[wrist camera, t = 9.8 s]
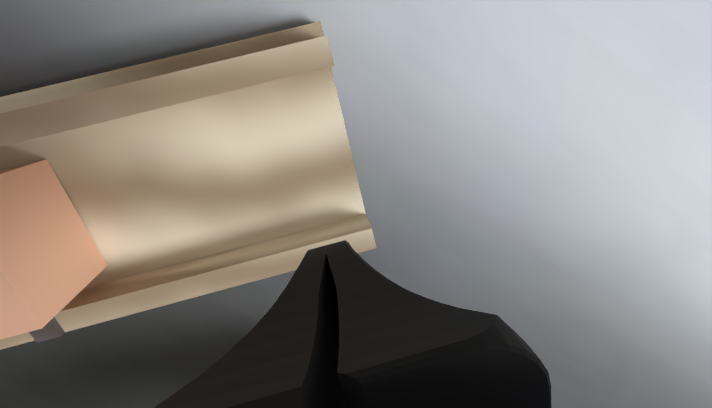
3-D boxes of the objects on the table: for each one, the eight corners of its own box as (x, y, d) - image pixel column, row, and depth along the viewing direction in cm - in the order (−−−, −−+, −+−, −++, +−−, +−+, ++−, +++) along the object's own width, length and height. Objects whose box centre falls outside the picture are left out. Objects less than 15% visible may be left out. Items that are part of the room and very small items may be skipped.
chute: (369, 236, 21) (380, 263, 18) (-25, 342, 20) (-84, 390, 17) (319, 24, 17) (322, 13, 14) (-189, 144, 16) (-307, 161, 13)
